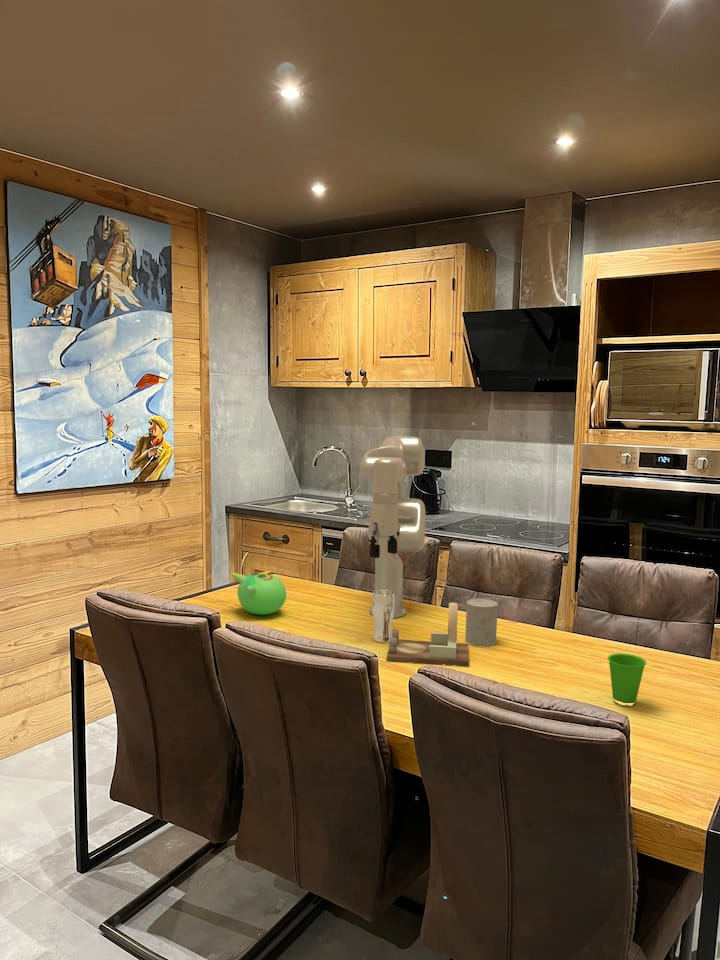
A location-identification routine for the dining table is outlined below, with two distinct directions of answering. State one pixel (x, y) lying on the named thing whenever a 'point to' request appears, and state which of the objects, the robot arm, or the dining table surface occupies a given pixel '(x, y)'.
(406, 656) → the board
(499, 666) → the dining table surface
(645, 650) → the dining table surface
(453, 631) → the grey angular piece
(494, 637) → the grey stone cylinder
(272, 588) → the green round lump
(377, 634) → the beer glass
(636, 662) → the cup
